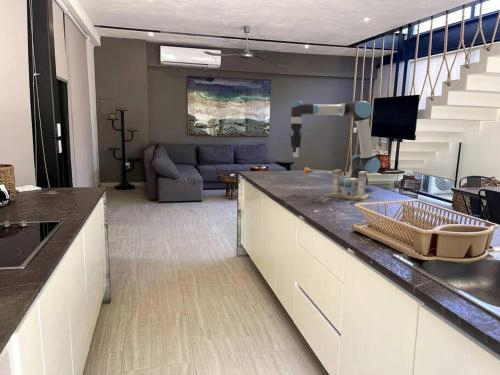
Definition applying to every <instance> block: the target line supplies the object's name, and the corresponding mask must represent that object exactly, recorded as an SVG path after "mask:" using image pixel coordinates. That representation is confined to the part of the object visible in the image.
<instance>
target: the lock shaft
mask: <svg viewBox="0 0 500 375" xmlns="http://www.w3.org/2000/svg"><path fill="white" fill-rule="evenodd" d="M302 172H303V175H309V174H320V175H327V176H328V175H330V176H333V172H334V170H332V171H331V170H324V169H323V170H320V169H310V168H309V166H308V167H307V166H304V168H303V170H302Z"/></svg>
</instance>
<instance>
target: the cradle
mask: <svg viewBox="0 0 500 375" xmlns="http://www.w3.org/2000/svg"><path fill="white" fill-rule="evenodd" d="M333 171H334V172H333V175H332V181H333V182H332V192H329V193H327V195H326V196H327V198H336V199H344V200H350V201H351V200H352V201H361V202H364V201H366V200H367V199H369V198H371V196H370V195H371V194H366V185H365V184H366V171H360V172H359V176H358V195H350V196H343V195H341V194H339V191H340V178H342V176H341V175H342V169H339V168H338V169H337V168H336V169H333Z"/></svg>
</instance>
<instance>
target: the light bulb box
mask: <svg viewBox="0 0 500 375" xmlns="http://www.w3.org/2000/svg"><path fill="white" fill-rule="evenodd" d="M339 194H341V195H343V196H350V195H358V179H356V178H350V177H343V178H342V177H341V178H340V191H339Z"/></svg>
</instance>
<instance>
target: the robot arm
mask: <svg viewBox="0 0 500 375" xmlns="http://www.w3.org/2000/svg"><path fill="white" fill-rule="evenodd" d="M372 110H373V109H372V106H371V103H369V102H368V101H366V100H358V101H357V100H356V101H351V102H350V101H348V102H344V103H343V102H340V103H339V104H330V103H329V104H321V103H320V104H318V103H303V101H302V100H292V101H291V104H290V123H291V124H290V129H291V131H292V132H290V141H291V142H290V145H291V148H292V157H293V158H299V148H300V147H301V141H302V132H301V129H302V128H303V126H302V122H303V116H305V115H307V116H309V115H310V116H311V115H313V116H315V115H316V116H317V115H321V116H322V115H324V116H330V115H331V116H332V115H333V116H336V115H337V116H340V117H348V118H352V119H353V122H354V123H355V125H356V130H357V136H358V142H359V143H358V144H359V147H360V153H361V154H353V155H352V157H351V174H350V176H349V178H356V179H358V176H359V172H360V171H366V184H365V186H366V185H367V186H368V185H369V179H368V174H376V173H377V172H378V171H379V169H380V167H381V161H380V160H379V159H378V158H377V154H376V153H375V152H374V149H373V142H372V137H371V129H370V124H369V123H370V122H369V120H370V119H371V117H370V116H371V113H372Z"/></svg>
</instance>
